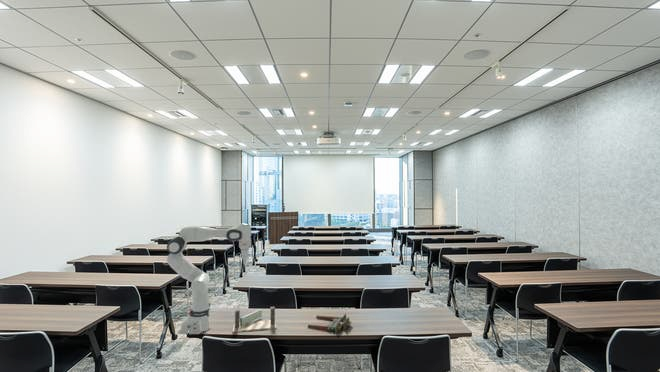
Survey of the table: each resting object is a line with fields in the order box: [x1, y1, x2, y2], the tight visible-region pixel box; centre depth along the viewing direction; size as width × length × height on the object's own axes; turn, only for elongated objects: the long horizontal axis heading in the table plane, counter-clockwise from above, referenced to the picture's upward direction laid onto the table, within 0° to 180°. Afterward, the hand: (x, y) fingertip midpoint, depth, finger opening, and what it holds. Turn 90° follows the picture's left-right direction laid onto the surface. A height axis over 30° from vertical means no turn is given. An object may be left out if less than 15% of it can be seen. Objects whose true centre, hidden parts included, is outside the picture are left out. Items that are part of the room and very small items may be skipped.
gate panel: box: [240, 309, 263, 326], centre depth 240 cm, size 21×2×6 cm, turn 148°
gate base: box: [232, 306, 277, 334], centre depth 234 cm, size 31×14×13 cm, turn 103°
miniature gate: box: [307, 312, 352, 335], centre depth 237 cm, size 27×6×30 cm
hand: (245, 263), depth 239 cm, fingers open, 8 cm apart
